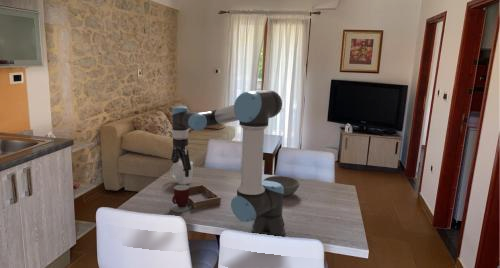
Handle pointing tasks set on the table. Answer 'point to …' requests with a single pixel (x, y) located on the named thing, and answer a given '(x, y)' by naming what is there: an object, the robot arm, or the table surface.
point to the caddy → (204, 203)
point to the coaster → (180, 208)
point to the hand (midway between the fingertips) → (180, 178)
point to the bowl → (285, 183)
